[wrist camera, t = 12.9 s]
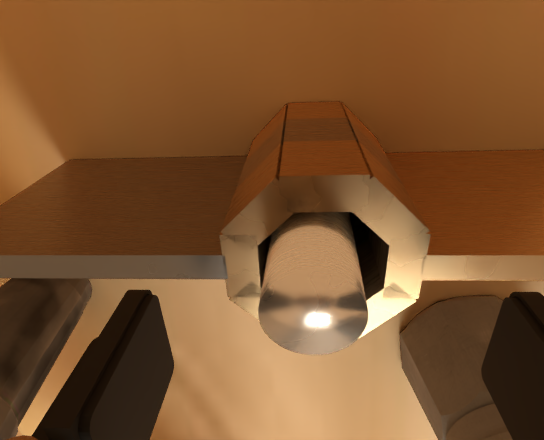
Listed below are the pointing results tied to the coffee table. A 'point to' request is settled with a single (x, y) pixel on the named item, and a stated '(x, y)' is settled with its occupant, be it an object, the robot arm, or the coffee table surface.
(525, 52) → the coffee table surface
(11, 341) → the beverage cup
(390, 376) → the coffee table surface
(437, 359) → the coffeepot
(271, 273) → the steel pin
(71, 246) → the hinge
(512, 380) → the robot arm
